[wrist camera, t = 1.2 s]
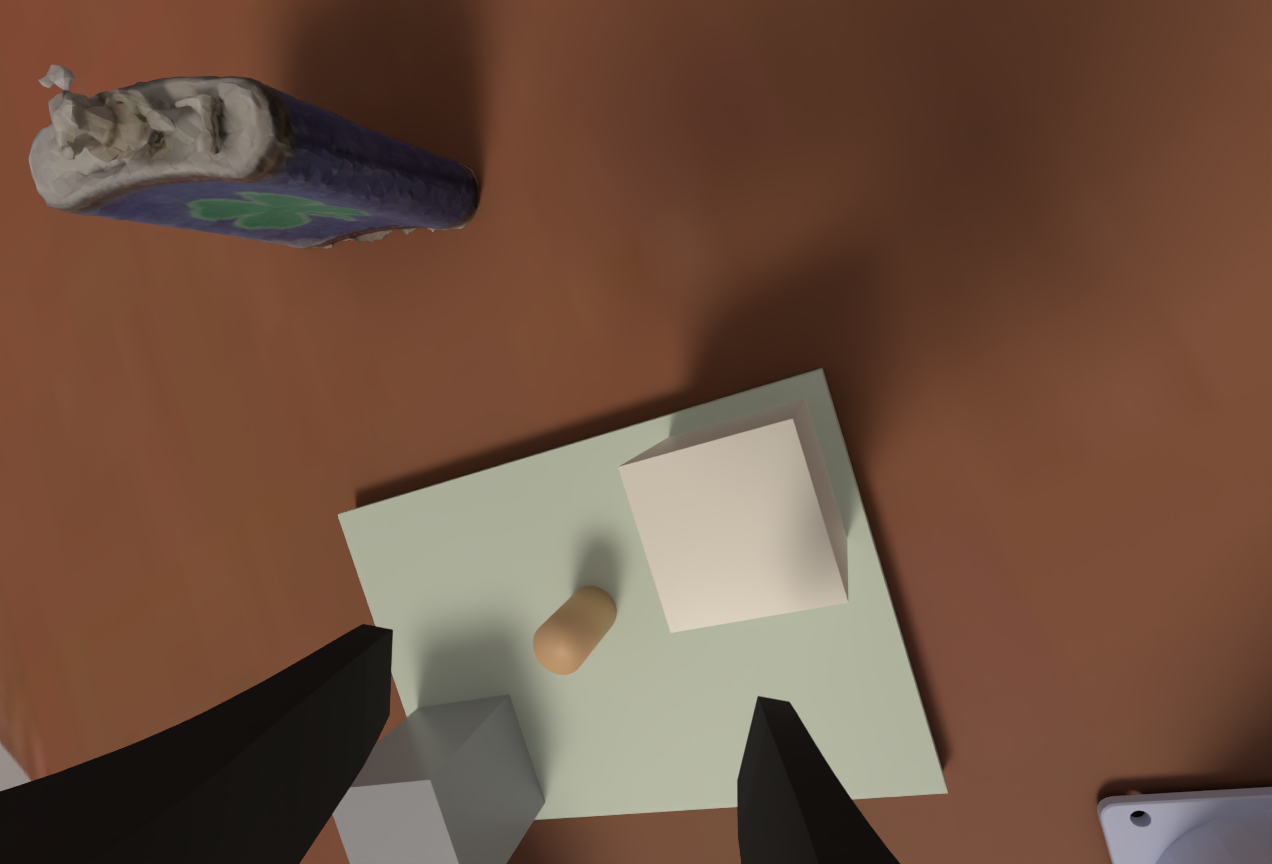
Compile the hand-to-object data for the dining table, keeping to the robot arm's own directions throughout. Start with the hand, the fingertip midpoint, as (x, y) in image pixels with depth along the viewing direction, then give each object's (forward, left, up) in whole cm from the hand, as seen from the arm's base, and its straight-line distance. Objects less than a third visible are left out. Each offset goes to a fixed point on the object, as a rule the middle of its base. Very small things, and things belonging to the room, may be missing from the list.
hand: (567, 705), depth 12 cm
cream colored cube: (-3, -1, -10) cm, 10 cm away
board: (+4, +3, -11) cm, 12 cm away
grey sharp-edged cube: (+11, +7, -10) cm, 16 cm away
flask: (+8, -15, -11) cm, 21 cm away
